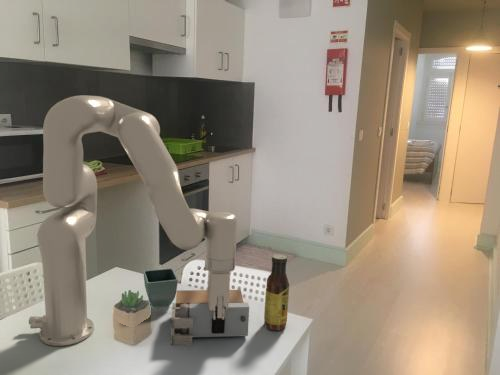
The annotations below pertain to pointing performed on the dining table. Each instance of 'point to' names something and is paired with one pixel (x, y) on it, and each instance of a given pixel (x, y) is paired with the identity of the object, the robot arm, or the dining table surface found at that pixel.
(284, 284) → the sauce bottle
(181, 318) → the hinge clips
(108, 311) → the dining table surface
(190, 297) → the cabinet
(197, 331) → the door
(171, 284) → the flower pot
